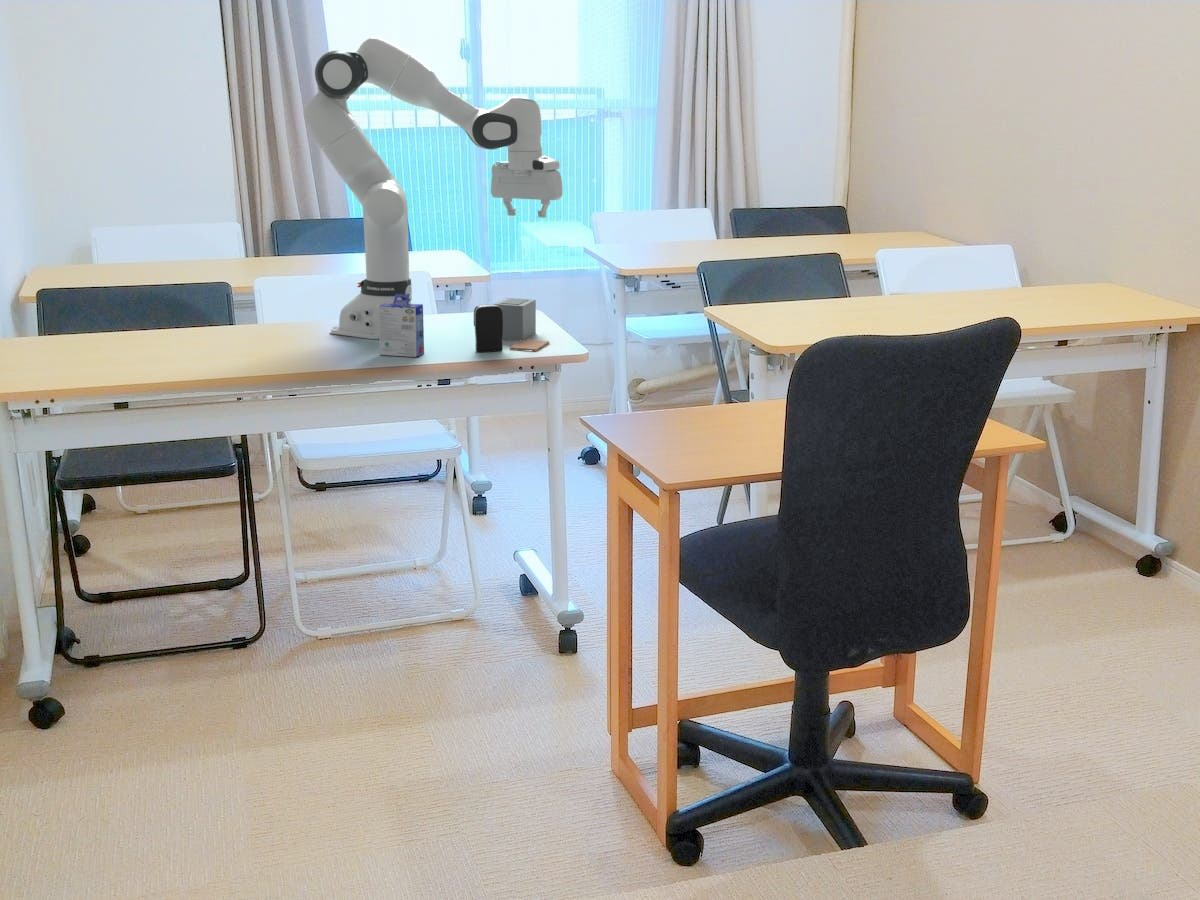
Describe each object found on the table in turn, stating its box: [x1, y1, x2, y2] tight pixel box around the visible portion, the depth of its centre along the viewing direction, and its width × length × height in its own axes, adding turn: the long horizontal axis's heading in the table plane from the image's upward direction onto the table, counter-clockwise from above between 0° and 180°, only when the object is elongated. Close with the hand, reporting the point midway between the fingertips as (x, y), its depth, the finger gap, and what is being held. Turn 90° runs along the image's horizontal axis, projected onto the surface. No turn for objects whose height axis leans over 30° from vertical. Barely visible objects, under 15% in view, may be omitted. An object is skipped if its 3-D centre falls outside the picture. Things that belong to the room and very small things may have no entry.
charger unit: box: [492, 297, 537, 341], centre depth 308 cm, size 8×10×9 cm
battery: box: [473, 304, 504, 353], centre depth 290 cm, size 7×4×11 cm, turn 109°
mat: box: [509, 339, 550, 352], centre depth 297 cm, size 7×10×1 cm
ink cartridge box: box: [378, 294, 425, 358], centre depth 284 cm, size 10×6×14 cm, turn 79°
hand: (526, 216), depth 308 cm, fingers open, 8 cm apart
